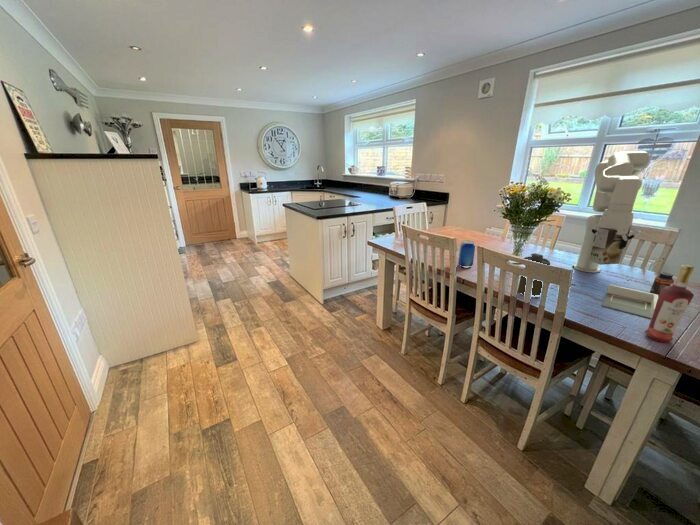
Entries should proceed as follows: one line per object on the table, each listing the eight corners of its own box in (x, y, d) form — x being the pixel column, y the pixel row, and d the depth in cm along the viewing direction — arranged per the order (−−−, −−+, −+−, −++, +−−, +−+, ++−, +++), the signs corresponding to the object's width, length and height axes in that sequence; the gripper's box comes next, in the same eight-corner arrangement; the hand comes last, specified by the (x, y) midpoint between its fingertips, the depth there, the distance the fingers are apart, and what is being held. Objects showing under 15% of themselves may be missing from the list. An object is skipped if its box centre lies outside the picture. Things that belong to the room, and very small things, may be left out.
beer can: (459, 268, 167) (462, 243, 162) (456, 264, 175) (459, 239, 169) (474, 269, 166) (477, 243, 160) (470, 264, 173) (473, 240, 168)
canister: (512, 291, 137) (519, 253, 130) (526, 287, 141) (534, 250, 134) (533, 300, 128) (542, 260, 121) (548, 295, 132) (557, 256, 125)
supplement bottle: (671, 299, 125) (681, 276, 121) (655, 298, 126) (664, 276, 122) (660, 293, 130) (669, 271, 126) (645, 292, 131) (653, 271, 127)
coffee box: (600, 265, 123) (611, 230, 118) (587, 260, 129) (597, 227, 124) (619, 263, 124) (631, 229, 118) (605, 259, 130) (616, 225, 124)
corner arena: (606, 292, 133) (609, 284, 131) (654, 303, 122) (658, 294, 120) (601, 306, 121) (604, 297, 120) (653, 319, 110) (658, 310, 109)
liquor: (650, 342, 97) (680, 269, 88) (638, 330, 104) (665, 261, 94) (677, 346, 95) (712, 271, 85) (664, 334, 101) (694, 263, 91)
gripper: (591, 206, 123) (581, 243, 129) (645, 211, 109) (630, 252, 115) (599, 204, 127) (588, 240, 133) (651, 209, 112) (637, 249, 118)
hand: (608, 246), depth 124 cm, fingers closed on coffee box, 8 cm apart
